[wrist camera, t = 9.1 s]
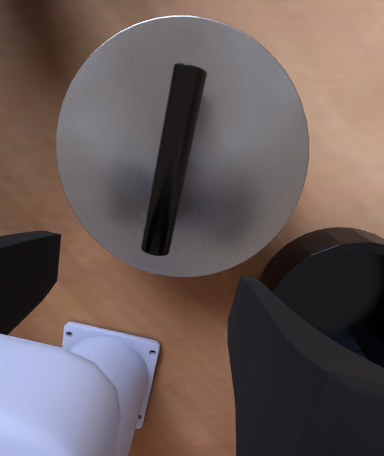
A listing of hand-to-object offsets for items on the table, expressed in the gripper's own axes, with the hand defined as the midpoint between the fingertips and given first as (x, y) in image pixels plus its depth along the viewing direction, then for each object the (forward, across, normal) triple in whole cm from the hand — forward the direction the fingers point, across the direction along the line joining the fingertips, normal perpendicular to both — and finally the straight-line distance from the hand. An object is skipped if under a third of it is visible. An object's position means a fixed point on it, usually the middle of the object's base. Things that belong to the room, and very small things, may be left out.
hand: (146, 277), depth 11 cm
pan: (+10, -13, +4) cm, 17 cm away
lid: (+5, 0, -4) cm, 6 cm away
